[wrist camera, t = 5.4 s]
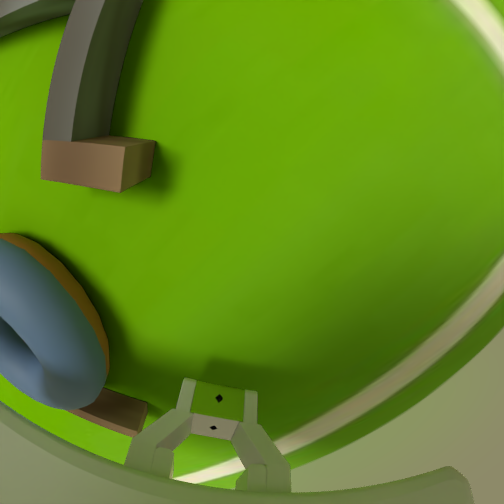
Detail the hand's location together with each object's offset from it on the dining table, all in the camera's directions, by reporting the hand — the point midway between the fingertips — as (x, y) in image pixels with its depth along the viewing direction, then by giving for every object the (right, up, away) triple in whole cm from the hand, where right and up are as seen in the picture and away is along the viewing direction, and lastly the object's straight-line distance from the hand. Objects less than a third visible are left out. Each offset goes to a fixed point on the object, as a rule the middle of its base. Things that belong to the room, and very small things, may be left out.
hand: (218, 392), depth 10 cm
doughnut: (-10, +3, +1) cm, 10 cm away
